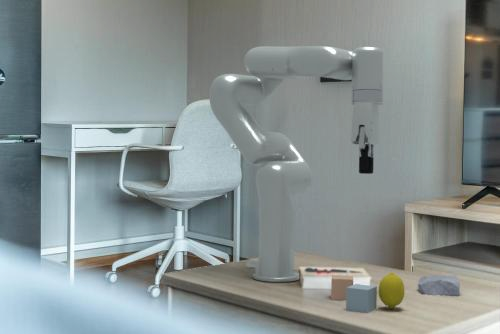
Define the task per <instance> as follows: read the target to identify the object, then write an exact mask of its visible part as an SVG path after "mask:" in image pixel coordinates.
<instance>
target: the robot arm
mask: <svg viewBox="0 0 500 334" xmlns="http://www.w3.org/2000/svg"><path fill="white" fill-rule="evenodd" d="M243 61H244V64H243V65H244V67H245V69H246V71H247V72H248V74H250V75H246V74H238V73H224V74H221V75H219V76H217V77H215V78H214V80H213V81H212V83H211V85H210V87H209V96H208V97H209V104H210V107H211V111H212V113H213V116H215V119H217V121H218V122H219V123H220V125H221V126H222V127H223V129H224V130H225V131H226V133H227V134H228V136H229V138H230V140H231V141H232V143H233V144H234V145H235V146H236V148H237V150H238V151H239V153H240V155H241V156H242V157H243V158H244V160H245V161H246V162H247V163H248V164H250V165H252V166H260V168H259V169H258V170H257V172H256V176H255V184H256V185H255V186H256V190H257V197H258V206H259V207H258V210H259V211H258V213H259V217H258V223H259V224H258V225H259V226H258V228H259V229H258V230H259V232H258V234H259V235H258V236H259V237H258V238H259V239H258V243H259V244H258V260H256V261H248V260H247V261H246V262H245V267H244V268H246V269H247V270H254V271H255V272H254V273H253V274H252V278H253V279H254V280H256V281H261V282H270V283H287V282H295V281H298V280H299V274H300V273H299V272H296V271H295V238H296V237H295V234H296V233H295V231H296V230H295V229H296V228H295V227H296V225H295V220H296V219H295V217H296V215H295V213H296V212H295V207H294V203H293V200H292V197H291V196H299V195H303V194H305V193H307V192H308V191H309V190H310V189H311V187H312V185H313V172H312V170H311V168H310V166H309V164H308V162H307V161H306V160H305V158H304V157H303V156H302V154H301V153H300V151H299V150H298V148H296V146H295V145H294V143H293V142H292V140H291V139H289V138H288V136H286V135H285V134H283V133H281V132H277V131H267V130H264V128H262V126H261V125H260V124H259V123H258V122H257V120H256V119H255V118H254V116H253V115H252V114H251V113H250V111H248V110H247V109H246V108H244V107H243V106H251V107H252V106H253V107H254V106H256V105H257V106H258V105H260V104H261V103H263V102H264V101H265V100H267V98H268V97H269V96H270V95H271V94H273V92H274V91H276V89H278V87H279V86H280V85H281V84H282V83H283V82H284V81H285V80H287V79H288V80H297V79H299V78H301V77H316V78H327V79H335V80H341V81H350V80H351V105H353V109H352V120H351V135H350V136H351V137H350V139H351V140H350V141H351V143H352V144H353V145H358V155H359V157H358V158H359V159H358V173H359V174H365V175H366V174H368V175H371V174H374V152H375V151H374V149H375V145H377V144H378V143H379V137H380V109H379V106H380V105H382V106H383V103H384V101H383V100H384V96H383V95H384V92H383V88H384V51H383V49H381V48H380V47H376V46H361V47H360V46H359V47H357V48H355V49H354V50H348V49H343V48H339V47H334V46H326V45H323V46H321V45H315V46H314V45H311V46H310V45H307V46H306V45H302V46H297V45H296V46H275V45H274V46H270V45H269V46H267V45H264V46H256V47H253V48H251V49H250V50H248V51H247V52H246V54H245V56H244V59H243Z"/></svg>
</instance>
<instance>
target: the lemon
mask: <svg viewBox="0 0 500 334" xmlns="http://www.w3.org/2000/svg"><path fill="white" fill-rule="evenodd" d="M378 296H379V299H380V301H381V302H382V304H384V305H385V306H387V307H388V308H389V310H393V309H394V308H395V307H397V306H399V305H400V304H401V303H402V302H403V300H404V297H405V285H404V282H403V279H401V277H400V276H398V275H396V274H395V273H394V272H390V273H389V274H386V275H385V276H383V277H382V278H381V280H380V282H379V286H378Z"/></svg>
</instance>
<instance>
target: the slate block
mask: <svg viewBox="0 0 500 334" xmlns="http://www.w3.org/2000/svg"><path fill="white" fill-rule="evenodd" d="M377 289H378V287H377V286H375V285H369V284H368V285H367V284H358V283H355V284H354V283H353V285H352V286H349V287H346V301H345V310H346V311H351V312H359V313H364V314H365V313H366V314H368V313H370V312H373V311H375V310H377V293H378V292H377V291H378V290H377Z"/></svg>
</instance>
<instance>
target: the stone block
mask: <svg viewBox="0 0 500 334" xmlns="http://www.w3.org/2000/svg"><path fill="white" fill-rule="evenodd" d="M460 285H461V283H460V279H459V278H457V275H442V274H430V275H425V276H422V277H421V276H420V277H419V280H417V287H418V291H419V293H421V294H423V295H425V294H427V295H426V296H437V295H440V296H441V297H442V296H443V295H445V296H447V297H448V296H449V297H459V296H460Z"/></svg>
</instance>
